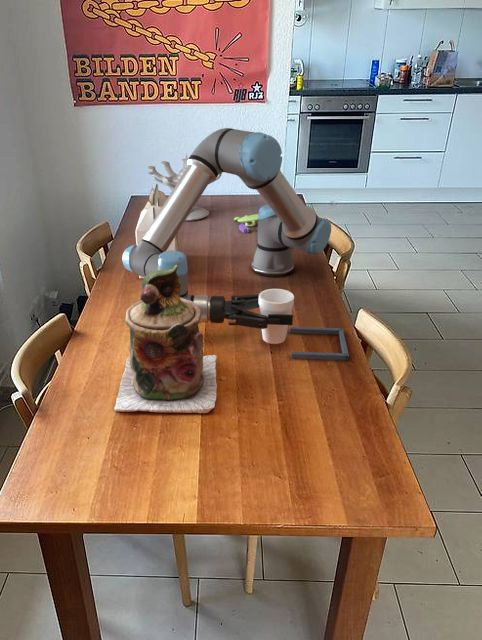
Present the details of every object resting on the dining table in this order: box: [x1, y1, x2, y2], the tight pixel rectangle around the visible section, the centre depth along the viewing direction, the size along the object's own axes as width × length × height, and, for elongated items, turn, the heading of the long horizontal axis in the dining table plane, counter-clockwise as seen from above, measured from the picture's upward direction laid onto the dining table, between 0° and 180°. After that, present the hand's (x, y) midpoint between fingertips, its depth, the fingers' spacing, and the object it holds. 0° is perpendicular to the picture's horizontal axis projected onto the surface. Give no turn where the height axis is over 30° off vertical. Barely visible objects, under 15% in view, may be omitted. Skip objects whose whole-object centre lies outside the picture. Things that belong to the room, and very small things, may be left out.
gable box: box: [135, 183, 180, 280], centre depth 205 cm, size 22×13×28 cm, turn 179°
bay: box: [289, 326, 350, 361], centre depth 162 cm, size 15×15×2 cm
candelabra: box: [147, 152, 223, 222], centre depth 255 cm, size 34×35×27 cm
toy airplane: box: [233, 213, 259, 234], centre depth 246 cm, size 18×27×6 cm
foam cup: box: [258, 288, 295, 345], centre depth 159 cm, size 10×9×13 cm
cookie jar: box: [114, 265, 218, 414], centre depth 138 cm, size 25×25×32 cm
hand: (291, 311), depth 158 cm, fingers closed on foam cup, 9 cm apart
